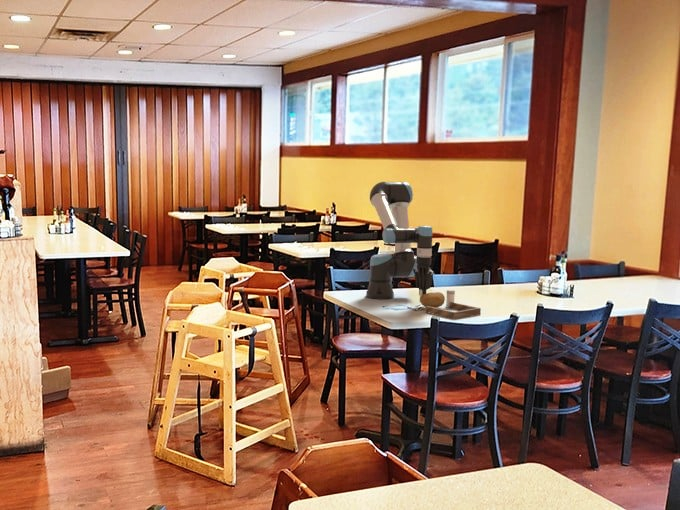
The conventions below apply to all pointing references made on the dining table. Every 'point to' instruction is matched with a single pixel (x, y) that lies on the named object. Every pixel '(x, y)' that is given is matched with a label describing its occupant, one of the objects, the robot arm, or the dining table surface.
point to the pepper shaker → (450, 297)
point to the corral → (459, 314)
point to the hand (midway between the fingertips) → (422, 302)
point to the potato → (432, 299)
